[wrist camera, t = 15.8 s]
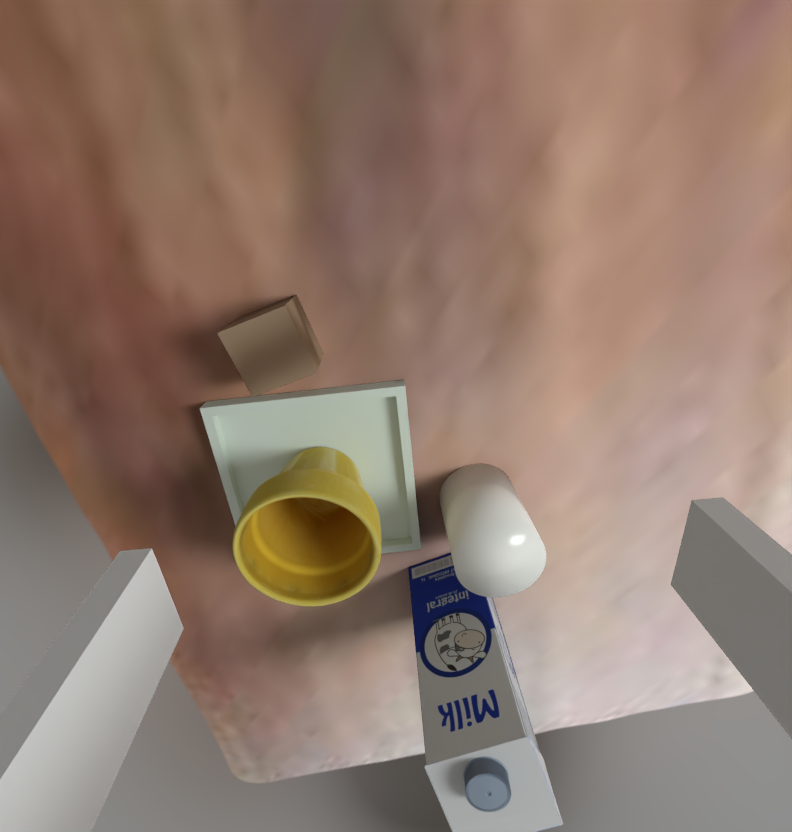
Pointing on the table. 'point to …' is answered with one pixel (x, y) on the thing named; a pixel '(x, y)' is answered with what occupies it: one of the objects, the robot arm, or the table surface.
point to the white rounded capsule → (490, 532)
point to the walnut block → (273, 346)
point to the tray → (322, 427)
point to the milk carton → (474, 711)
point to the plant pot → (310, 532)
